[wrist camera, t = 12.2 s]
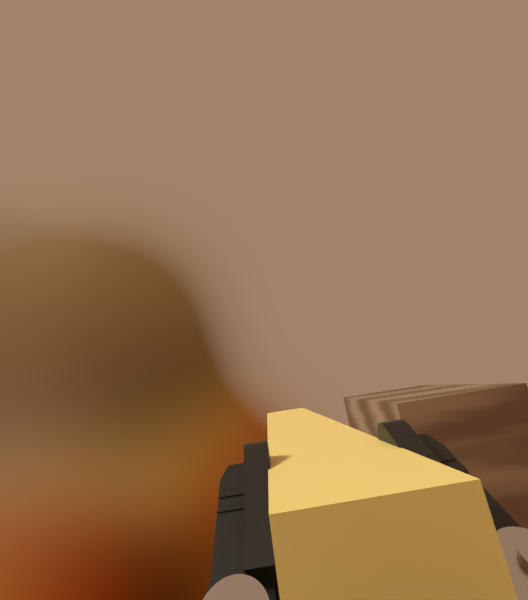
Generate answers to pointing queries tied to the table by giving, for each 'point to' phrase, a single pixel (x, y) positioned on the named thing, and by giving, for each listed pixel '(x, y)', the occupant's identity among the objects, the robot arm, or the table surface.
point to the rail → (375, 519)
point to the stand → (463, 430)
